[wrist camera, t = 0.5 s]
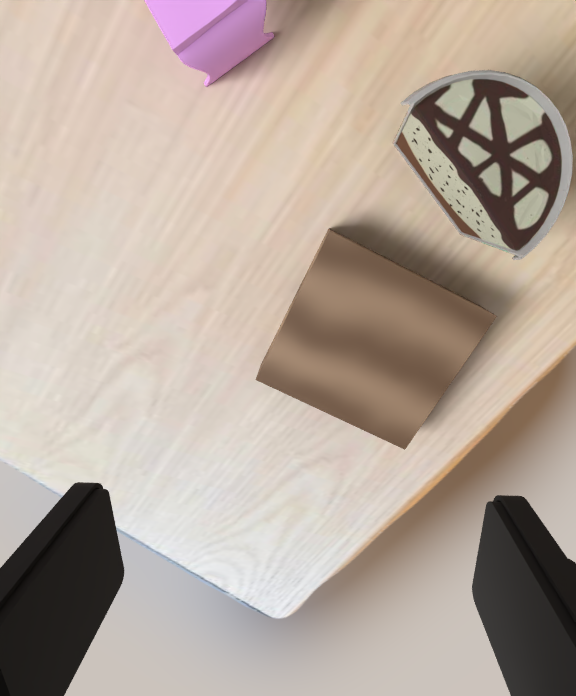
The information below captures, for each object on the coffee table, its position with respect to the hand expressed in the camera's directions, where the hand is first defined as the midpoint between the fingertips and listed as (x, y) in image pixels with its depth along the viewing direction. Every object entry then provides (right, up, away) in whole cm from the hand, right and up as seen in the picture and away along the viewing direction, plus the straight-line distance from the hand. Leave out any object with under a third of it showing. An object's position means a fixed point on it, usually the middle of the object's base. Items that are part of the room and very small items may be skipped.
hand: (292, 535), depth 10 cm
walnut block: (+7, +6, +28) cm, 29 cm away
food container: (+14, +19, +23) cm, 33 cm away
